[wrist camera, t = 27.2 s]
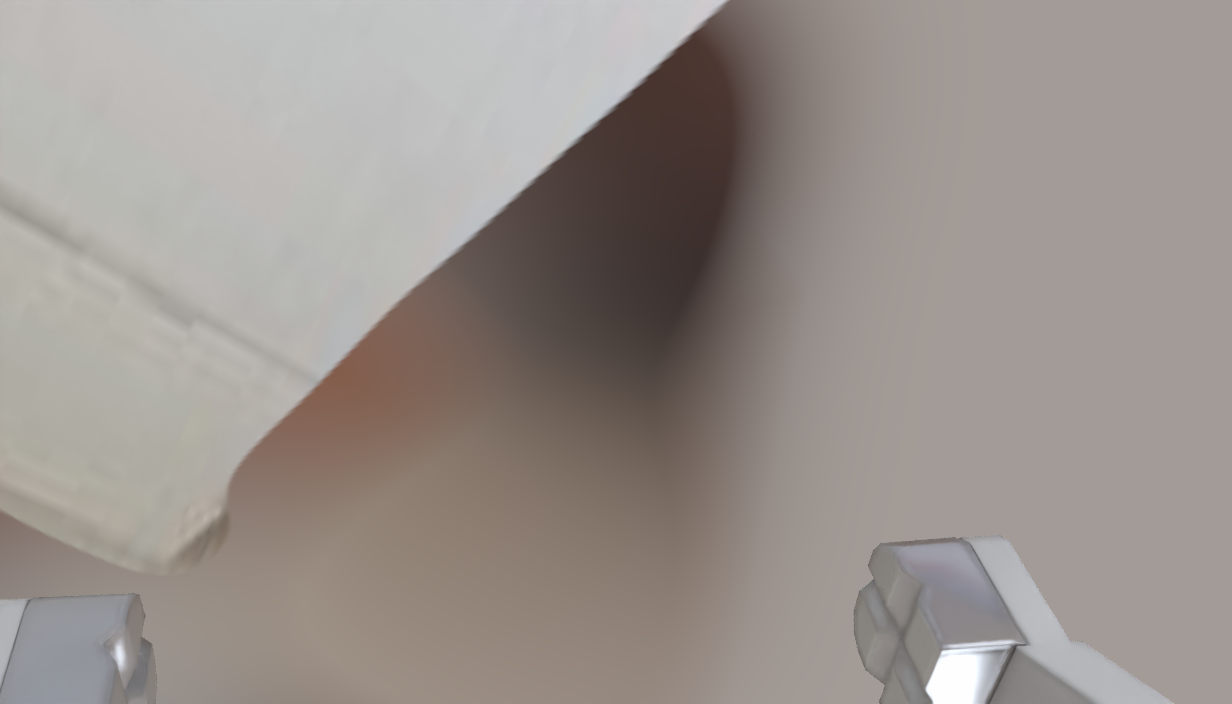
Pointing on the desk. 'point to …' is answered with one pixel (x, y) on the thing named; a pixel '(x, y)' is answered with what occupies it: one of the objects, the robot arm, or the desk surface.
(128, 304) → the desk surface
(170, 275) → the desk surface
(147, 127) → the desk surface
